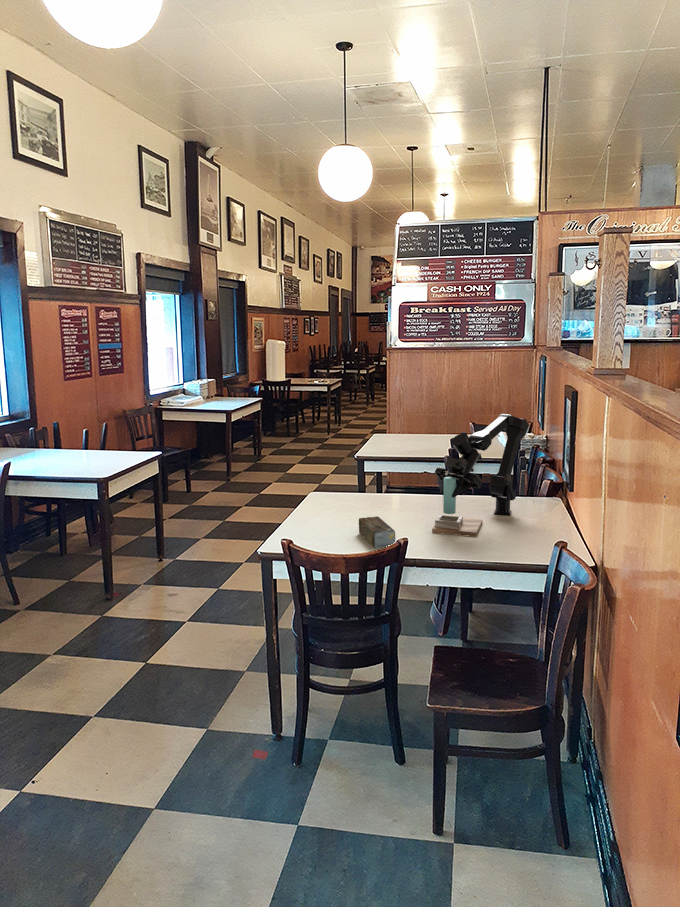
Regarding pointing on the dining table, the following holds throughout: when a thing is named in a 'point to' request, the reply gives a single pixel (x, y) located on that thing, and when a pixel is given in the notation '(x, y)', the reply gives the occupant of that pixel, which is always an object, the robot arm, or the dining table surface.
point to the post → (449, 495)
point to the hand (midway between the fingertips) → (447, 495)
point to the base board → (456, 525)
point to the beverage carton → (376, 532)
